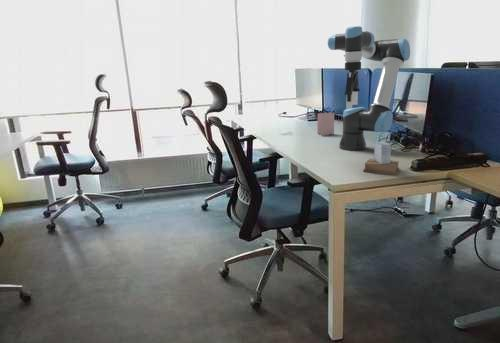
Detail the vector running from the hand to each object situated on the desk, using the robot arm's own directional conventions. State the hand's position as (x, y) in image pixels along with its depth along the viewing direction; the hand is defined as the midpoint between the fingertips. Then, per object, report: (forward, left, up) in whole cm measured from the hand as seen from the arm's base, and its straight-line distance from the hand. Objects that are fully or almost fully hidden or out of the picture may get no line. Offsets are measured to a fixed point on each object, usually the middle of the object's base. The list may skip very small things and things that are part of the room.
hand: (352, 106), depth 183 cm
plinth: (+14, +18, -27) cm, 35 cm away
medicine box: (+14, +18, -23) cm, 32 cm away
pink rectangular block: (-65, -33, -27) cm, 78 cm away
